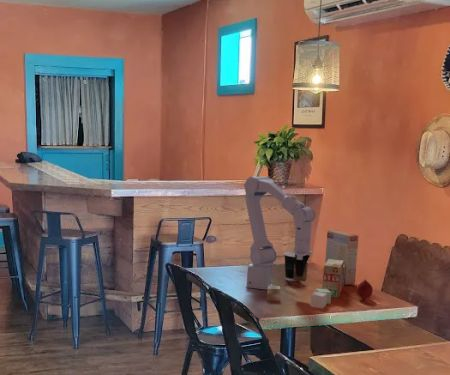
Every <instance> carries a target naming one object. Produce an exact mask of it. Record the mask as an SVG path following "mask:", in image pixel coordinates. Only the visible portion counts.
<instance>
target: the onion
mask: <svg viewBox="0 0 450 375" xmlns="http://www.w3.org/2000/svg"><path fill="white" fill-rule="evenodd" d="M356 293H357V294H358V296H359V298H360V299H361V300H363V301H366V300H367V299H369V298H370V297H371V296H372V295H373V286H372V284H371V283H370V282H369V281H367V279H366V278H364V279H363V281H362V282H360V283H359V284H358V285H357V288H356Z"/></svg>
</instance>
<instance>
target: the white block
mask: <svg viewBox="0 0 450 375" xmlns="http://www.w3.org/2000/svg"><path fill="white" fill-rule="evenodd" d="M326 301H327V294H326V293H320V292H315V291H314V292H312V293H311V294H310V306H309V307H312V308H317V309H324V308H325V307H326V306H327V304H326Z"/></svg>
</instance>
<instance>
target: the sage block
mask: <svg viewBox="0 0 450 375" xmlns="http://www.w3.org/2000/svg"><path fill="white" fill-rule="evenodd" d="M314 292H320V293H326V294H327V301H326V305H331V303H332V302H331V299H332V297H331V292H330V291H329V290H328V289H322V288H315V291H314Z"/></svg>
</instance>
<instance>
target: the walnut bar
mask: <svg viewBox="0 0 450 375" xmlns="http://www.w3.org/2000/svg"><path fill="white" fill-rule="evenodd" d="M308 266H309V265H308V263H306V265H305V268H304V273H303V276H302V277H298V276H297V275H296V268H295V264H294V277H293V280H296V281H295V282H298V281H299V282H306V281H307V279H308V278H307V277H308Z"/></svg>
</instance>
